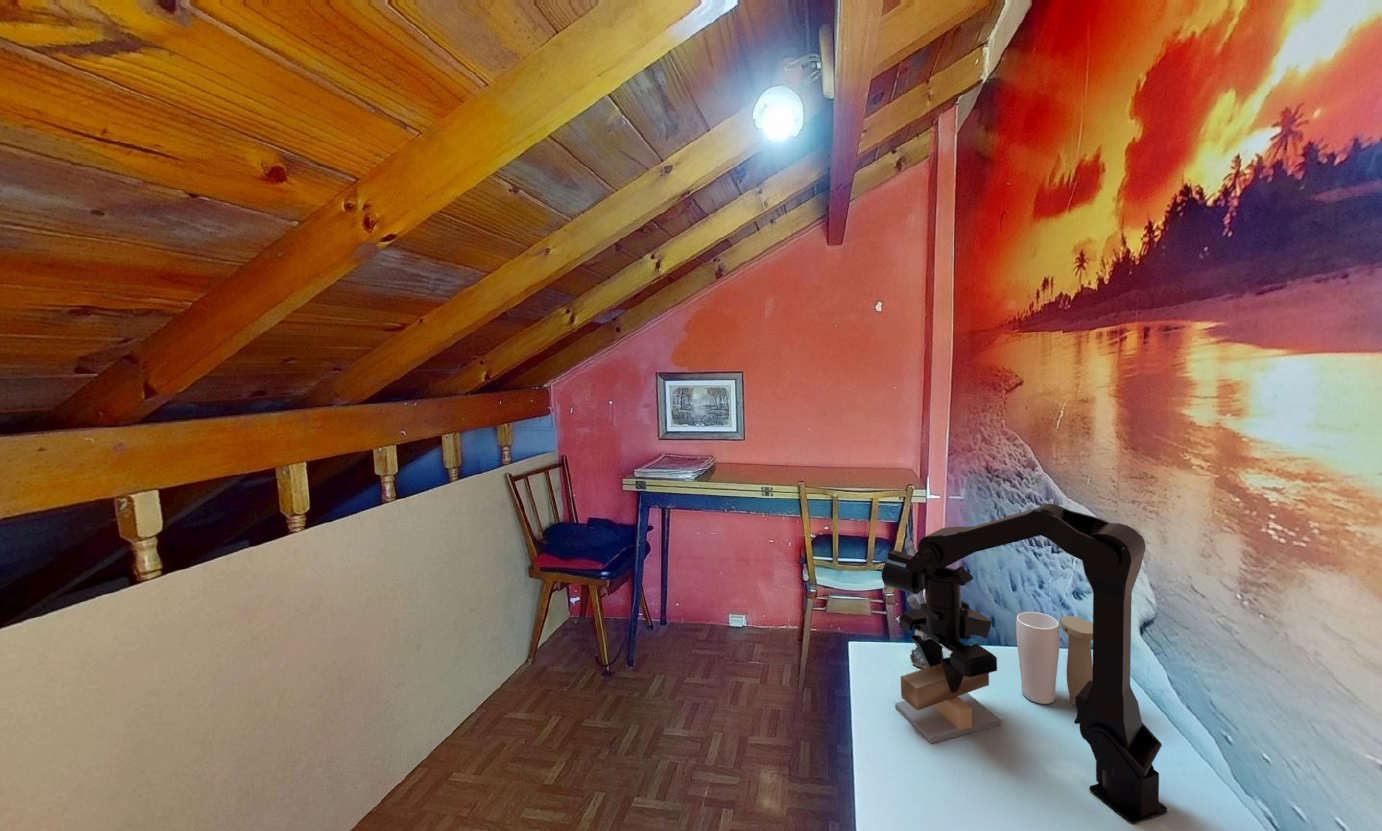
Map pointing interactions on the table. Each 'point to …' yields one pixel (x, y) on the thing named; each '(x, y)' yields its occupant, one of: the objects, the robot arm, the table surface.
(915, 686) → the batten
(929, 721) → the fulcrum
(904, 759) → the table surface
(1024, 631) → the drinking glass
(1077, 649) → the handle
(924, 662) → the antler
